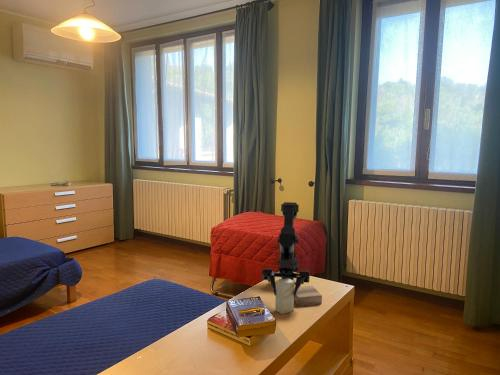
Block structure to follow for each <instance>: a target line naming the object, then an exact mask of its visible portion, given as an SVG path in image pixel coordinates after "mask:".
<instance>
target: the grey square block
mask: <svg viewBox="0 0 500 375" xmlns="http://www.w3.org/2000/svg"><path fill="white" fill-rule="evenodd" d="M294 290H295V286H294ZM294 303H295V304H296V305H297V306H298V307H303V306H304V305H305V306H313V305H322V303H323V295H322V294H321V293H320V292H319V291H318V290H317V289H316V288H315V287H314V286H313V285H306V286H305V285H304V286H300V287H299V289H298V291H297V293H296V296H295V297H294Z"/></svg>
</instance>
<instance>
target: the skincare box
mask: <svg viewBox="0 0 500 375" xmlns="http://www.w3.org/2000/svg"><path fill="white" fill-rule="evenodd" d="M295 282H296V280H294V281H293V280H291V279H289V278H286V279H282V280H279V279H278V280H275V287H276V296H275V306H274V307H275V308H274V309H275V311H276V312H278V313H279V314H281V315H284V314H287V313H291V312H294V311H295V301H294V287H295Z"/></svg>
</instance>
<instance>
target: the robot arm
mask: <svg viewBox="0 0 500 375" xmlns="http://www.w3.org/2000/svg"><path fill="white" fill-rule="evenodd" d="M280 206H281V207H280V212H282V217H283V220H284V221H283V227H282V228H280V233H279V234H278V236H277V244H279V251H280V252H279V258H278V271H273V268H270V267H269V268H268V267H267V268H266V267H264V268H263V269H262V270H261V276H262V280H263V281H267V282H268V283H270V285H271V287H272V291H273V295H274V296H275V297H276V278H279V279H278V280H282V279H286V278H289V279H291V280H293V281H295V284H294V287H295V290H294V297H295V296H296V293H297V291H298V289H299V287H301V285H304V284H305V283H307V284H308V283H310V276H311V274H310V271H309V270H304V269H303V270H302V269H301V270H299V262H300V261H298V258H296V253H295V245H297V243H299V237H298V235H297V234H296V229H295V228H294V226H295V225H294V222H295V220H296V218H297V217H298V213H299V211H300V210H299V208H300V207H299V206H300V205H299V204H298V203H297V202H293V201H292V202H291V201H290V202H287V201H285V202H283V203H282V204H280ZM298 271H299V272H298Z"/></svg>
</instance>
